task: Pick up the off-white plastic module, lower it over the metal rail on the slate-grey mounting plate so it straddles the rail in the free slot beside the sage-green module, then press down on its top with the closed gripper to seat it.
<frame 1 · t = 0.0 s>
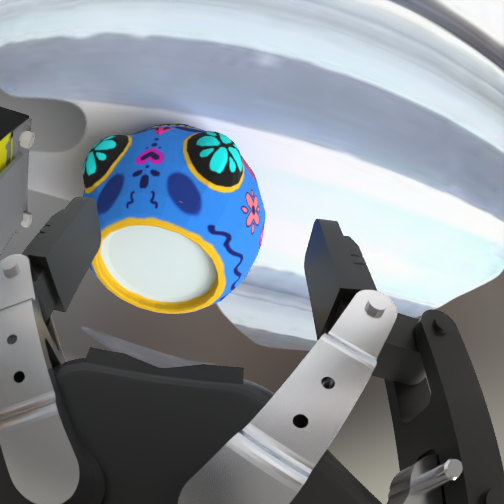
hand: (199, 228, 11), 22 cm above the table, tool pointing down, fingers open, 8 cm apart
electrical component: (10, 165, 33), on the table
ceramic pot: (186, 172, 35), on the table
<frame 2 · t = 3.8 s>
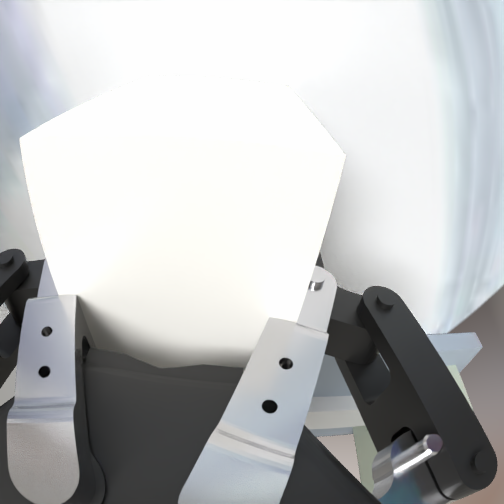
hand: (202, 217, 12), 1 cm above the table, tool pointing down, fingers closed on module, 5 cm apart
mounting plate: (282, 390, 22), on the table
module: (207, 200, 13), on the table, touching gripper
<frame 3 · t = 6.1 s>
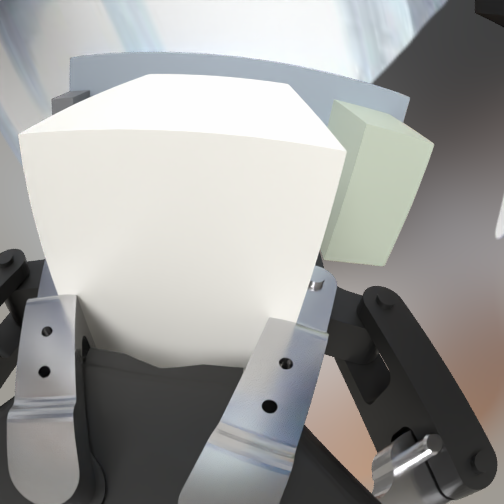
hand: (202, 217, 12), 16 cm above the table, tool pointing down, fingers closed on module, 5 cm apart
mounting plate: (230, 137, 26), on the table
module: (207, 198, 13), point 15 cm above the table, touching gripper
when the fingers open (5 cm above the table, at t = 8.7 s): module drops 2 cm, resting on mounting plate.
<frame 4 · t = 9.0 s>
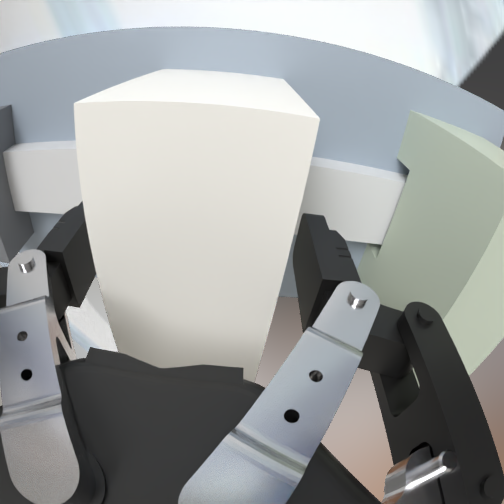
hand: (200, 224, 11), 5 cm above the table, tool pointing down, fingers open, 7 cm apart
mounting plate: (234, 169, 16), on the table
module: (211, 178, 14), point 1 cm above the table, touching mounting plate
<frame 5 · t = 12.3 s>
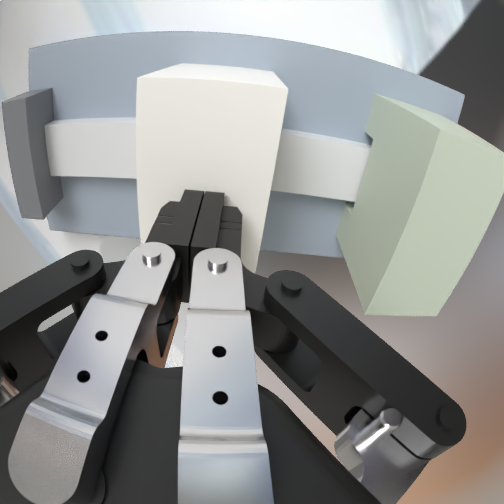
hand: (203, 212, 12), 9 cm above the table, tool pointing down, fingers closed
mounting plate: (235, 143, 19), on the table
module: (217, 148, 18), point 1 cm above the table, touching gripper, mounting plate
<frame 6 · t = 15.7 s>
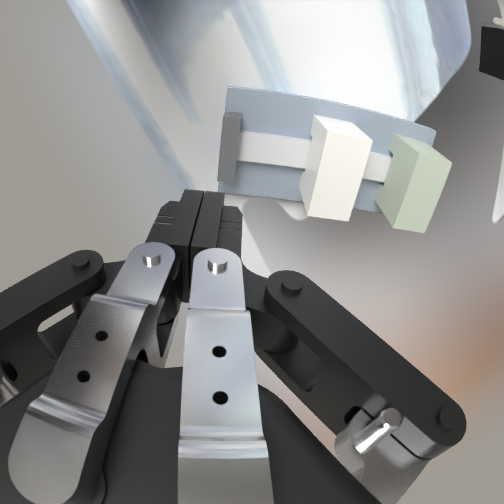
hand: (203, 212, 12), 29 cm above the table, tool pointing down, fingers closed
mounting plate: (329, 153, 40), on the table
module: (325, 155, 38), point 1 cm above the table, touching mounting plate
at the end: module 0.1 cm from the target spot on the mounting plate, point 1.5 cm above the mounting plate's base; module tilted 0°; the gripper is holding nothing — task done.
